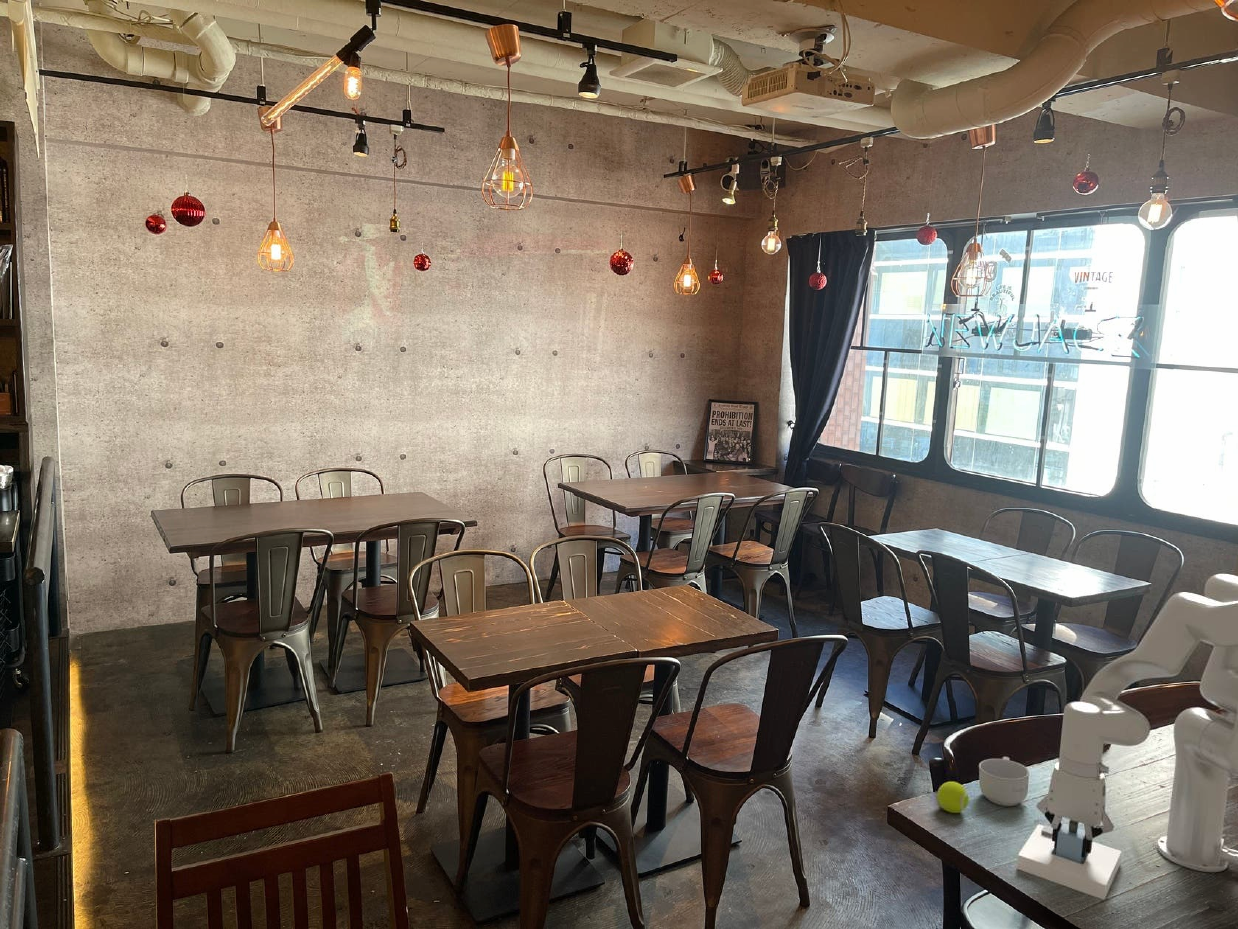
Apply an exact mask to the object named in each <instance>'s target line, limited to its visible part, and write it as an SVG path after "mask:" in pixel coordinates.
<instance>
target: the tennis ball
mask: <svg viewBox="0 0 1238 929" xmlns="http://www.w3.org/2000/svg"><path fill="white" fill-rule="evenodd" d="M936 797H937V801H938V803H939V805H940V806H941V808H942V809H943V810H944V811H946V812H948V813H952V814H958V813H961V812H963V811H964V810H965V809H966V808H967V807H968V805H969V801H970V800H969V799H970V798H969V794H968V791H967V789H966V788H965V787H964V786H963V785H962V784H961V783H958V782H957V781H947V782H944V783H942V785H940V786H939V788H938V790H937V794H936Z"/></svg>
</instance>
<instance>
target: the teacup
mask: <svg viewBox="0 0 1238 929" xmlns="http://www.w3.org/2000/svg"><path fill="white" fill-rule="evenodd" d="M978 771H979V774H978V775H979V776H978V778H979V779H978V780H979V783H978V784H979V789H980V792H981V794H983V796H984V797H985V798H986V799H987V800H988V801H990V802H991V803H994V804H996V805H998V806H1005V807H1013V806H1016V805H1018V804H1019V803H1022V802H1023V801H1025V799H1026V798H1027V796H1028V791H1029V777H1030V770H1029V769H1028V767H1026V766H1025V765H1023V764H1021V763H1019V762H1016V761H1013V760H1010V758H1009V756H1003V757H1002V758H988V759H984V760H981V762H979V764H978Z"/></svg>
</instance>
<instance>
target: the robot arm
mask: <svg viewBox="0 0 1238 929" xmlns="http://www.w3.org/2000/svg"><path fill="white" fill-rule="evenodd" d="M1203 593H1204V595H1201V594H1197V593H1193V592H1183V591H1182V592H1177V593H1174V594H1173V595H1172V596H1170V597H1169V599H1168V600H1167V601H1166V602H1165V604H1164V605H1163V607H1162V608H1161V610H1160V611H1159V613H1158V614H1157V616H1156V618H1155V619H1154V621H1153V622H1152V624H1151V625H1150V627H1149V628H1148V630H1147V632H1146V633H1145V634H1144V636H1143V637H1142V639H1141V641H1140V642H1139V643H1138V645H1137V647H1135V649H1134V650H1132V651H1131V652H1129V653H1126V654H1124V655H1122V656H1120V657H1118V658H1116V659H1115V660H1113V661H1112V662H1109V663H1108V664H1106V665H1105V666H1103V667H1102V668H1100V670H1099V671H1097V673H1095V674H1094V676H1093V677H1092V679H1091V680H1090V682H1089V684H1088V685H1087V686H1086V688H1085V689H1084V691H1083V693H1082V695H1081V697H1080V700H1079V701H1071V702H1069V703H1067V704H1066V705H1065V706H1064V710H1063V718H1062V728H1061V737H1060V747H1059V757H1058V758H1059V759H1058V762H1056V763H1055V765H1054V768H1053V771H1052V774H1051V776H1050V777H1051V779H1050V781H1049V782H1050V783H1049V787H1048V792H1047V793H1048V794H1047V795H1045V796H1044V797H1043V798H1042V799H1041V800H1040V801H1039V802H1037V804H1036V806H1035V807H1036V808H1037V810H1039V811H1040V812H1041V814H1042V815H1044V817H1045V818H1046V820H1047V821H1048V822H1049V824H1050V827H1052V828H1053V833H1052V841H1054V842H1055V843H1054V848H1056V849H1057V839H1058V831H1059V830H1060V828H1061V827H1062V825H1063V823H1062V820H1063V819H1066V820H1069V821H1070V820H1073V821H1076V822H1078V824H1083V826H1084V828H1083V829H1084V830H1085V837H1084V839H1083V847H1082V857H1083V858H1085V857H1086V855H1087V853H1091V849H1092V842H1093V839H1095V838H1097V837H1099V836H1100V835H1102V834H1106V833H1110V832H1113V830H1114V828H1115V826H1114V824H1113V823H1112V821H1111V819H1110V817H1109V815H1108V814H1107V812H1106V801H1107V800H1106V798H1107V796H1106V794H1107V792H1106V790H1107V788H1106V778H1105V775H1104V774H1106V775H1107V774H1109V772H1110V767H1109V766H1106V765H1105V764H1104V763H1103V752H1104V745H1105V744H1107V745H1108V744H1109V745H1113V746H1114V745H1116V746H1122V747H1123V746H1124V747H1135V746H1138V745H1141V744H1142V743H1144V742H1145V741H1146V740H1148V737H1149V736H1150V734H1151V725H1150V722H1149V721H1148V719H1147V718H1146V716H1145V715H1143V714H1142V713H1141V711H1139V710H1137V709H1135V708H1133V707H1131V706H1129V705H1127V704H1126V703H1123V701H1120V700H1119V699H1118V698H1119V696H1120V695H1121V694H1122V692H1123V691H1124V690H1125V689H1126V688H1128V687H1129V686H1130V685H1132V684H1134V683H1135V682H1139V681H1141V680H1145V679H1146V680H1148V679H1157V678H1169V677H1170V678H1171V677H1172V678H1173V677H1174V676H1177V675H1179V674H1180V672H1181V671H1182V669H1183V667H1184V666H1185V664H1186V663H1187V662H1188V659H1190V657H1191V655H1192V654H1193V652H1194V650H1195V649H1197V646H1198V645H1199V644H1200V642H1203V643H1206V644H1208V645H1210V646H1213V649H1212V651H1211V653H1210V655H1209V658H1208V661H1207V664H1206V666H1205V668H1204V671H1203V674H1202V676H1201V680H1200V684H1199V691H1200V695H1201V696H1202V697H1203V698H1204V699H1205V700H1206V701H1207V702H1209V703H1211V704H1212V705H1214V706H1215V707H1218V708H1220V709H1222V710H1224V711H1226V712H1228V713H1230V714H1233V715H1235V716H1236V719H1235V721H1233V720H1232V719H1231V718H1228V717H1226V716H1223V715H1222V714H1219V713H1217V712H1216V711H1213V710H1210V709H1207V708H1204V707H1197V706H1196V707H1195V706H1194V707H1190V708H1186V709H1185V710H1183V711H1182V712H1180V713H1179V714H1178V715H1177V717H1176V718H1175V721H1174V725H1173V741H1174V750H1175V753H1174V754H1175V761H1174V774H1173V782H1172V790H1171V798H1170V805H1169V807H1170V808H1169V816H1168V824H1167V832H1166V835H1165V836H1161V837H1159V838H1158V839H1157V842H1156V848H1157V850H1158V852H1159V853H1160V854H1161V855H1162V856H1163V857H1164V858H1166V859H1167V860H1169V861H1170V862H1173V863H1175V864H1177V865H1179V866H1182V867H1184V868H1187V869H1190V870H1193V871H1198V872H1202V873H1203V872H1204V873H1205V872H1206V873H1217V872H1223V871H1224V870H1226V869H1227V868H1228V864H1229V863H1233V864H1234V865H1238V850H1237V849H1231V848H1229V847H1228V846H1227V845H1224V842H1225V839H1224V838H1223V828H1224V823H1225V815H1226V808H1227V807H1226V805H1227V800H1228V797H1227V796H1228V790H1229V774H1231V775H1233V776H1236V777H1238V575H1234V574H1229V573H1218V574H1214V575H1212V576H1210V577H1209V578H1208V579H1207V581H1206V582H1205V585H1204V592H1203ZM1228 773H1229V774H1228ZM1101 823H1102V824H1101ZM1228 862H1229V863H1228Z"/></svg>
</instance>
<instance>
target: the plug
mask: <svg viewBox="0 0 1238 929" xmlns="http://www.w3.org/2000/svg"><path fill="white" fill-rule="evenodd" d="M1084 837H1085V829H1084V828H1079V822H1076V821H1073V820H1069V822H1068V823H1062V827H1061V828H1060V830H1059V831H1058V839H1057V849H1056V856H1059V857H1062V858H1065V859H1068V860H1071V861H1074V862H1077V863H1080V864H1084V859H1085V858H1083V857H1082V847H1083V839H1084Z"/></svg>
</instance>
